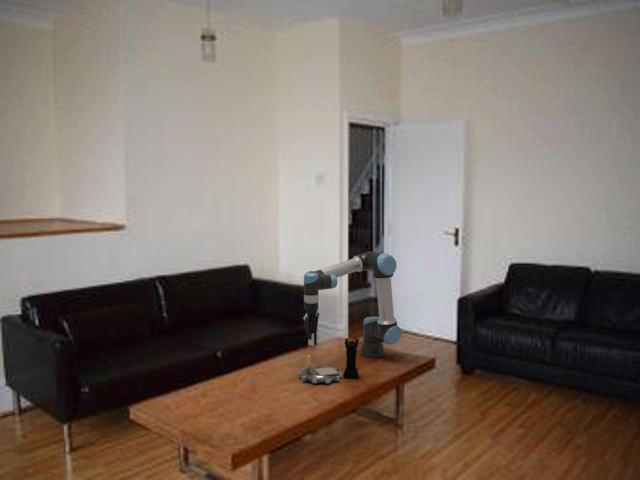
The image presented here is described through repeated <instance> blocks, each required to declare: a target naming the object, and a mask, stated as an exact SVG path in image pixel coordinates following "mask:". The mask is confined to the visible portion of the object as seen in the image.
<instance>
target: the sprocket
mask: <svg viewBox="0 0 640 480" xmlns="http://www.w3.org/2000/svg"><path fill="white" fill-rule="evenodd" d="M342 376H343V373H342V371H339V368H337V367H332V366H328V365H323V366H322V365H321V366H318V365H317V366H316V365H312V355H311V354H307V355H306V367H303V368H301V370H300V371H298V377H299V378H301V380H302V381H304V382H306V381H308V382H311V383H312V384H319V383H325V384H331V382H335V381H337V382H338V381H340V379H341V377H342ZM342 378H343V377H342Z"/></svg>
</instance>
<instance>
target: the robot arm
mask: <svg viewBox="0 0 640 480" xmlns="http://www.w3.org/2000/svg"><path fill="white" fill-rule="evenodd" d="M396 270H397V261H396V259H395V257H394V256H393V255H391V254H388V253H386V252H384V253H383V252H378V251H367V252H363V253H360V254H356V255H354V256H353V257H352V258H351V259H347V260H345V261H342V262H339V263H336V264H333V265H329V266H327V267H324V268H323V267H322V268H321V269H317V270H313V271H312V270H308V271H306V272H305V273H304V275H303V301H304V302H303V309H304V310H305V313H304V314H305V315H304V316H302V321H303V326H304V332H305V334H307V339H308V340H307V341H308V343H307V345H308V346H313V347H314V345H315V334H316V333H317V331H318V323H319V318H320V312H318V309H319V291H323V290H332V289H335V288H336V287H338V282H339V281H338V278H340V277H344V276H346V275H349V274H352V273H355V272H358V273H360V272H364V271H368V272H372V277H373V278H374V279H375V283H376V284H375V285H376V293H377V294H376V295H377V307H378V316H369V317H368V316H367V317H365V318H364V319H363V325H362V326H363V334H362V335H363V338H362V344H361V346H360V350H359V355H360V356H362V357H365V358H370V359H376V358H377V359H379V358H383V357H385V355H386V350H385V347H384V344H386V345H391V346H392V345H396V344H397V343H398V342H399V341H400V340H401V338H402V335H403V334H402V333H403V330H402V328H401V327H400V326H399V325H398V320H397V319H396V318H395V316H394V315H395V313H394V302H393V290H392V278H393V277H394V273H395V272H396Z"/></svg>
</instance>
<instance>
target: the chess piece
mask: <svg viewBox="0 0 640 480" xmlns="http://www.w3.org/2000/svg"><path fill="white" fill-rule="evenodd" d="M344 340H345V341H344V346H345V349H346V350H345V354H346V366H345V369H344V372H343V374H342V376H343V377H342V379H345V380H356V381H357V380H359V370H358V367H357V366H356V364H357V352H358V350H357V349H358V346H359V342H360V341H359V338H356V339H355V340H354V341H353V340H352V341H351V340H349V338H345V339H344Z"/></svg>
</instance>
